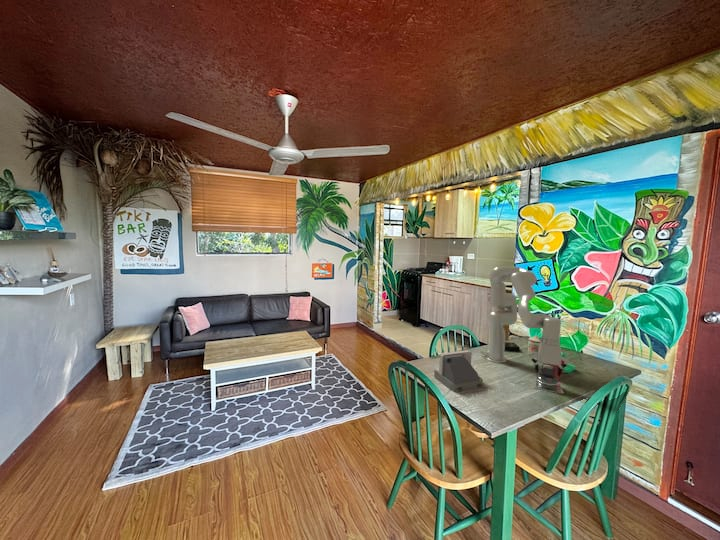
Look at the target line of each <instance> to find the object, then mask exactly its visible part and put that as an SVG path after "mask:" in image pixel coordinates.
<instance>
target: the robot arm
mask: <svg viewBox="0 0 720 540" xmlns="http://www.w3.org/2000/svg"><path fill="white" fill-rule="evenodd" d="M504 281H511V285H512V287H513V288H514V291H515V292H516V294H517V297H518V299H519V300H517V297H516V296H515V294H512V293H510V292H507V289H506V284H505V282H504ZM537 281H538V279H537V276H536V274H535V273H534V272H532V271H531V270H528V269H525V268H523V267H519V266H510V265H509V266H505V265H504V266H501V265H500V266H497V267H494V268H492V269H491V270H490V272H489V282H490V283H489V284H490V303H491V304H490V305H491V307H493V309H502V310H493V311H491V312H490V313H488V316H487V317H488V318H487V319H488V329H489V330H488V345H487V350H481V349H480V350H479V351H480V353H479V354H481V355H482V356H483V355H484V358H485V359H486V360H487V361H489V362H491V361H492V363H497V364H504V363H506V362H507V358H506V357H505V351H504V350H505V342H506V331H505V328H504V326H512V325H515V324H516V323H517V319H518V316H519V318H520V320H521V322H522V324H523V325H524V326H525V328H527V329H542V333H541V334H542V335H541V337H539V340H540V341H542V342H540V345H539V349H538V353H531V354H529V357H530V359H531V361H532V363H533V364H534V371H535V372H536V373H537V374H539V370H540V369H539V365H540V363H541V364H543V363H545V364H551V365H558V366H559V367H558V371H557V374H558V376H560V374H562V375H563V373H562V369H563V368H564V367H566V366H567V365H568V364H570V360H568V359H567V358H566V357H565V358H563V357H562V353H563V352H562V346H561V345H560V339H561V326H562V325H561V324H562V321H561V319H560V318H558V317H554V316H550V315H549V314H547V313H532V312H531V311H530V307H529V303H530V301H531V300H533V299H534V298H535V297H536V292H535V290H534V287H533V286H534V285H536V283H537ZM503 309H504V310H503ZM535 357H536V359H535ZM561 360H563V361H565V362H564V363H563V364H562V365H561Z"/></svg>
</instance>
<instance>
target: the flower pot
mask: <svg viewBox="0 0 720 540" xmlns="http://www.w3.org/2000/svg"><path fill="white" fill-rule="evenodd" d="M564 362H565V361H563V360H561V365H562V364H563V363H564ZM542 365H550V366H553V367H555V375H554V376H555V377H557V378H558V381H559V380H561V379H562V376H563V373H564V372H563V370H564V368H563V369H562V374H560V376H558V374H557V371H558V367H559V366H558V365H551V364H545V363H542Z"/></svg>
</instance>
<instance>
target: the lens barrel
mask: <svg viewBox="0 0 720 540" xmlns="http://www.w3.org/2000/svg"><path fill="white" fill-rule="evenodd" d="M531 384H532V388H533V389H534V390H535V389H536V390H541V391H546V392H550V393H556V394H561V395H564V394H565V392H564V391H563V389H562V387H561V385H560V383H559V380H558V378H557V377H555V376H554V378H550V377H545V376H543V375H541V370H538V373H537V374H536V379H533V378H531Z"/></svg>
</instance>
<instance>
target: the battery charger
mask: <svg viewBox="0 0 720 540" xmlns="http://www.w3.org/2000/svg"><path fill="white" fill-rule="evenodd" d="M520 349H521V348H520V346H519V345H518V344H516V342H509V341H508V342H507V341H505V350H504V352H513V351H516V353H519V352H520Z"/></svg>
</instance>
